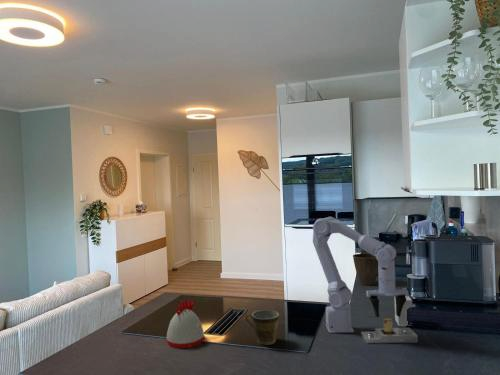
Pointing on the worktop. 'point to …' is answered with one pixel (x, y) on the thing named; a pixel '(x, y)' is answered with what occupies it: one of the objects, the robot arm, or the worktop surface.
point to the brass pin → (388, 326)
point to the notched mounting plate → (390, 336)
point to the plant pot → (366, 268)
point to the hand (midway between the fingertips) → (387, 316)
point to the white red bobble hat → (185, 327)
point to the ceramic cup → (265, 325)
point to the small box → (403, 312)
